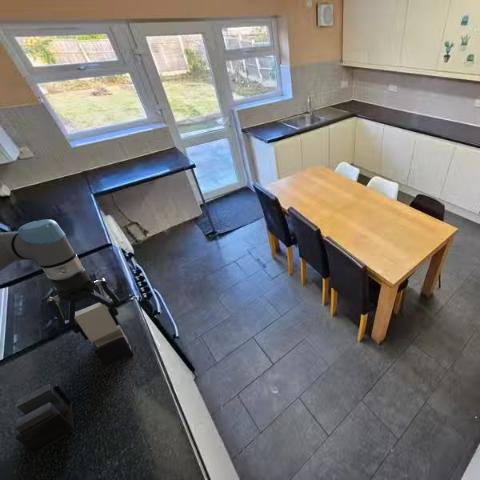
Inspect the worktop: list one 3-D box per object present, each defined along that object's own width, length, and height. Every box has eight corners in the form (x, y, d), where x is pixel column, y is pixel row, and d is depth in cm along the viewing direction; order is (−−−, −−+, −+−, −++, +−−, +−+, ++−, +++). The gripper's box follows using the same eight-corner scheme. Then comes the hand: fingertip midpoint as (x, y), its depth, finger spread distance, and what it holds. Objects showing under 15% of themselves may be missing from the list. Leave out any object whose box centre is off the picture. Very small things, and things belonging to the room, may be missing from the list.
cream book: (90, 337, 87) (73, 312, 81) (117, 325, 91) (103, 300, 85) (91, 342, 85) (73, 317, 79) (119, 329, 89) (104, 304, 84)
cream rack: (101, 348, 96) (85, 325, 91) (126, 336, 101) (113, 312, 95) (106, 368, 89) (89, 344, 83) (133, 354, 94) (119, 330, 88)
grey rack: (36, 421, 76) (13, 399, 70) (72, 401, 80) (53, 379, 75) (36, 455, 68) (9, 433, 63) (75, 431, 73) (54, 409, 68)
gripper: (15, 297, 67) (62, 356, 79) (112, 263, 79) (140, 319, 91) (17, 283, 72) (61, 341, 84) (108, 253, 84) (135, 308, 95)
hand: (102, 329), depth 87 cm, fingers closed on cream book, 8 cm apart
